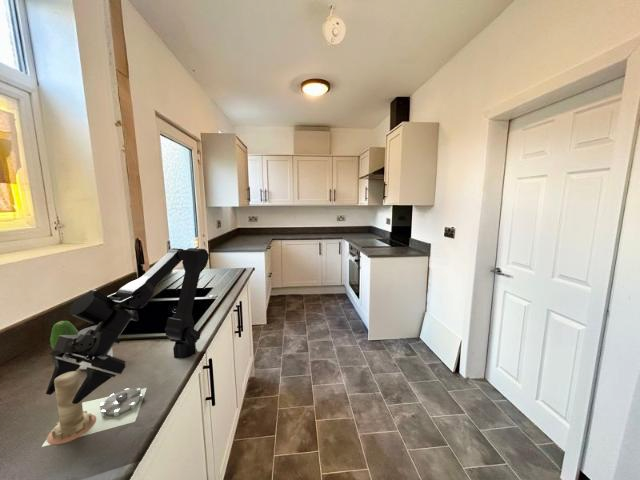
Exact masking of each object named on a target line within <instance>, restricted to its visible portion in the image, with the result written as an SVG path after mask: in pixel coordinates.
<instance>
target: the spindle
mask: <svg viewBox="0 0 640 480" xmlns="http://www.w3.org/2000/svg"><path fill="white" fill-rule="evenodd" d="M79 374H80V373H79V371H77V370H76V371H71V372H67V373H64V374H62V375H60V376H58V377H57V378H55V380H54V384H55V392H54V393H55V399H56V405H57V406H56V407H57V411H58V413H57V414H58V419H59V420H58V421H57V422H56V423H55V427H54V428H55V429H54V428H52V429H51V431H52V437H53V438H54V437H56V438H57V441H61V440H62V439H64V438H68V437H71V438H72V437H74V436H76V435H77V433H79V432H81V431H82V430H83V429H87V428H88V427H89V422H90V421H92V415H91V413H90V414H88V413H87V411H83V406H82V403H83V400H81V401H80V402H79V403H77V404H73V403H72V401H73V399H74V397H75V395H76V394H77V392H78V390H79V389H80V387H81V385H80V384H81V383H80V376H79Z"/></svg>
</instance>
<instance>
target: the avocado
mask: <svg viewBox="0 0 640 480" xmlns="http://www.w3.org/2000/svg"><path fill="white" fill-rule="evenodd" d="M78 332H79V330H78V329H77V328H76V327H75V326H74V324H73V323H71V322H70V321H69V320H60V321H58V322H56V323H55V324H53V327H52V328H51V334H50V338H49V341H50V347H51V349H52V350H53V349H54V347H55V344H56V342H57V339H58V337H59V335H77V333H78Z"/></svg>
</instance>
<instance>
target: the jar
mask: <svg viewBox="0 0 640 480" xmlns="http://www.w3.org/2000/svg"><path fill="white" fill-rule="evenodd" d="M97 326H98V324H94V325H91V326H88V327H86V328H83V329H81V330H78V333H77V335H80V334H86V332H87V331H88V330H90V329H91V330H95V328H96V327H97ZM113 353H114V352H113V347H112V348H111V349H110V351H109V352H108V354H107V355H110V356H111V357H114V354H113ZM85 359H86V358H85ZM93 359H94V357H93ZM88 360H89V359H88ZM78 365H81V366H80V367H79V370H87V367H89V368H93V369H95V367H93V366H91V363H87V362H83V361H82V362H81V363H78Z"/></svg>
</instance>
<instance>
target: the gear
mask: <svg viewBox="0 0 640 480" xmlns="http://www.w3.org/2000/svg"><path fill="white" fill-rule="evenodd" d="M141 389H142V388H140V387H137V388H129V387H128V388H124V389H123V390H120V391H118V392H116V393H112V394H110V395H108V397H109V398H108V399H107V400H106V401H105V402H103V403H101V405H100V410H101V414H102V417H104V418H105V417H106V416H110V417H111V416H114V417H119V416H120V415H121V414H124V413H126V412H128V411H130V410H131V411H132V410H134V409H135V408H136V406H137V405H138V403H139V402H140V401H142V400H144V398H143V393H142V394H141ZM142 402H143V401H142Z"/></svg>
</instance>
